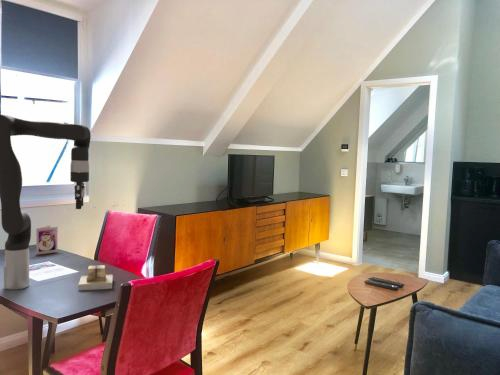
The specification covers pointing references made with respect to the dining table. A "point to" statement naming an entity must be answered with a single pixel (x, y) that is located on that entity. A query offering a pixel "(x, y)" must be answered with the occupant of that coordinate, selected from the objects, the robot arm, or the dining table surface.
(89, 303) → the dining table surface
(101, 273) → the pallet
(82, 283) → the dock
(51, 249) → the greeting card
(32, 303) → the dining table surface
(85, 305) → the dining table surface
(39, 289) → the dining table surface
